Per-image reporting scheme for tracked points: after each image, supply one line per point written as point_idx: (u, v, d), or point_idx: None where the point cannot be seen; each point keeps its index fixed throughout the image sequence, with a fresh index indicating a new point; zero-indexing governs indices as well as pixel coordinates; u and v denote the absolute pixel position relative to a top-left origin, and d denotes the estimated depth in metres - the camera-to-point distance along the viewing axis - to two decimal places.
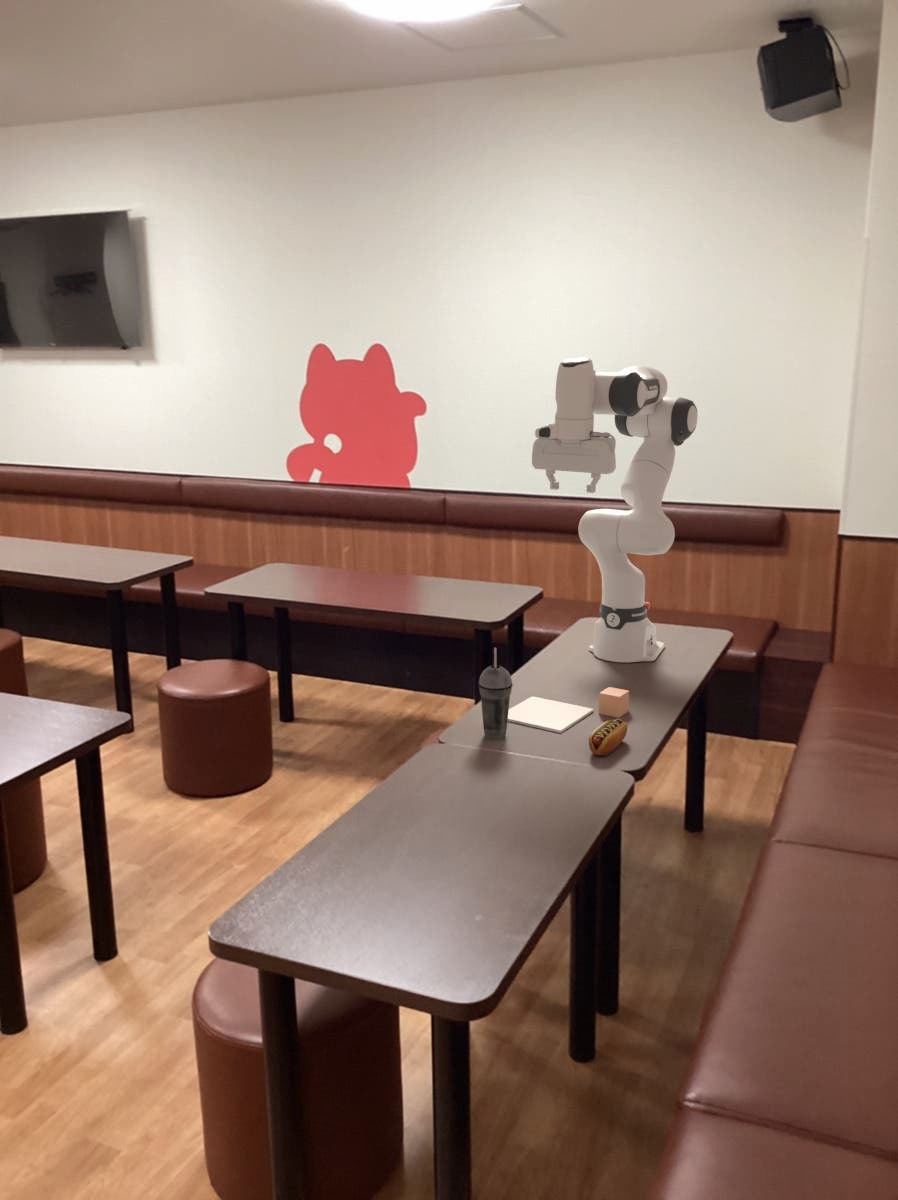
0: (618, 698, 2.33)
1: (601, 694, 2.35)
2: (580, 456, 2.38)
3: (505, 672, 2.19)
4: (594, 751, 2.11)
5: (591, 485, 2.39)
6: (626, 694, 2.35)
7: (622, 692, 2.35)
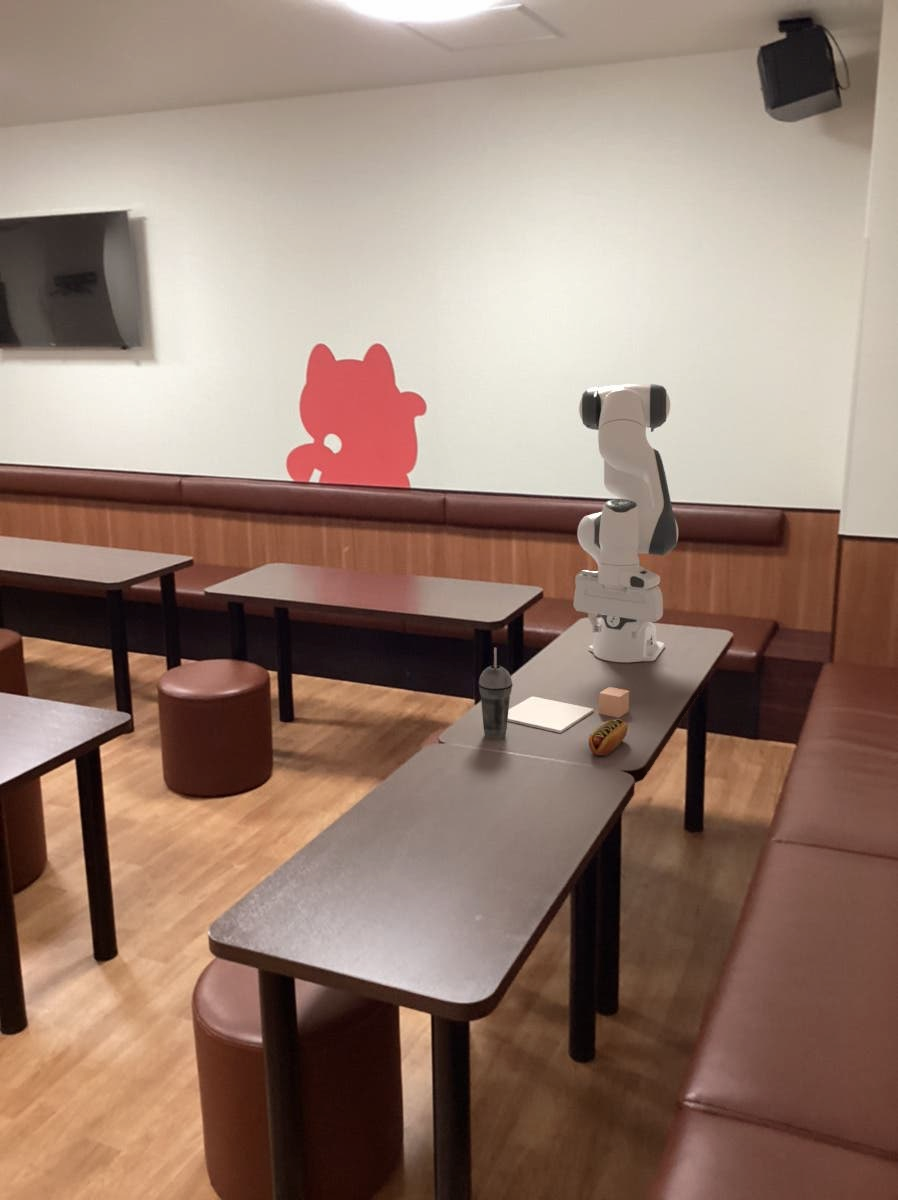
0: (618, 698, 2.33)
1: (601, 694, 2.35)
2: None
3: (505, 672, 2.19)
4: (594, 751, 2.11)
5: None
6: (626, 694, 2.35)
7: (622, 692, 2.35)
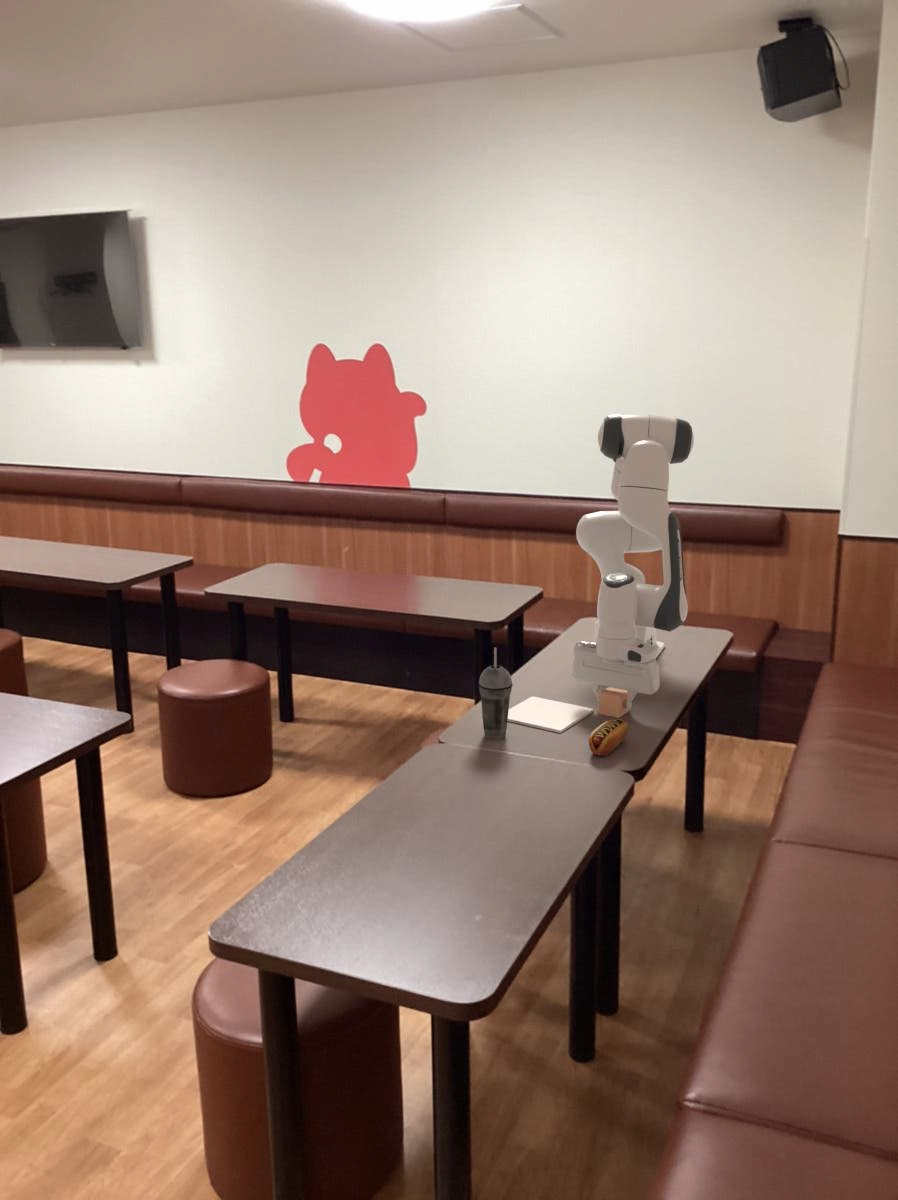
0: (618, 698, 2.33)
1: (601, 694, 2.35)
2: None
3: (505, 672, 2.19)
4: (594, 751, 2.11)
5: None
6: (626, 694, 2.35)
7: (622, 692, 2.35)
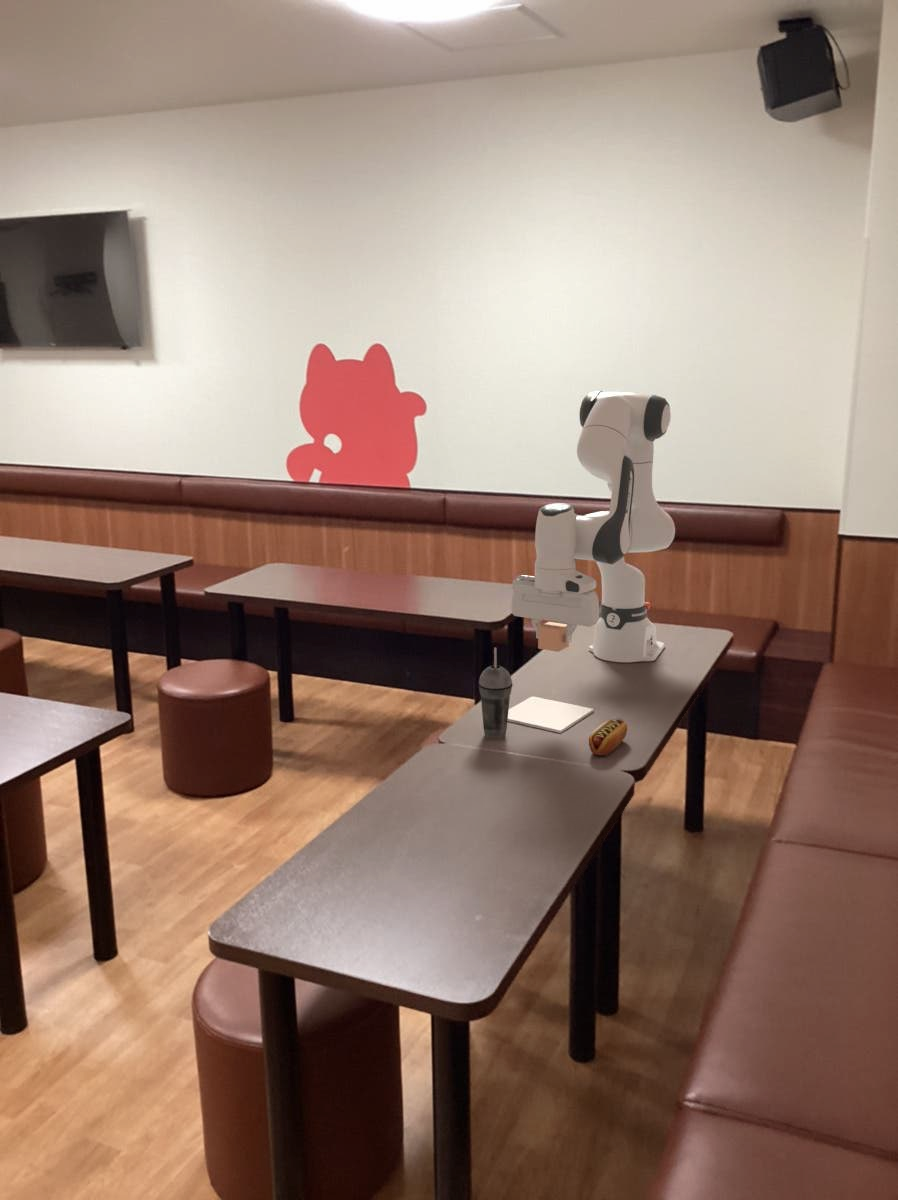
0: (557, 631, 2.27)
1: (540, 628, 2.29)
2: None
3: (505, 672, 2.19)
4: (594, 751, 2.11)
5: None
6: (566, 628, 2.30)
7: (562, 626, 2.29)
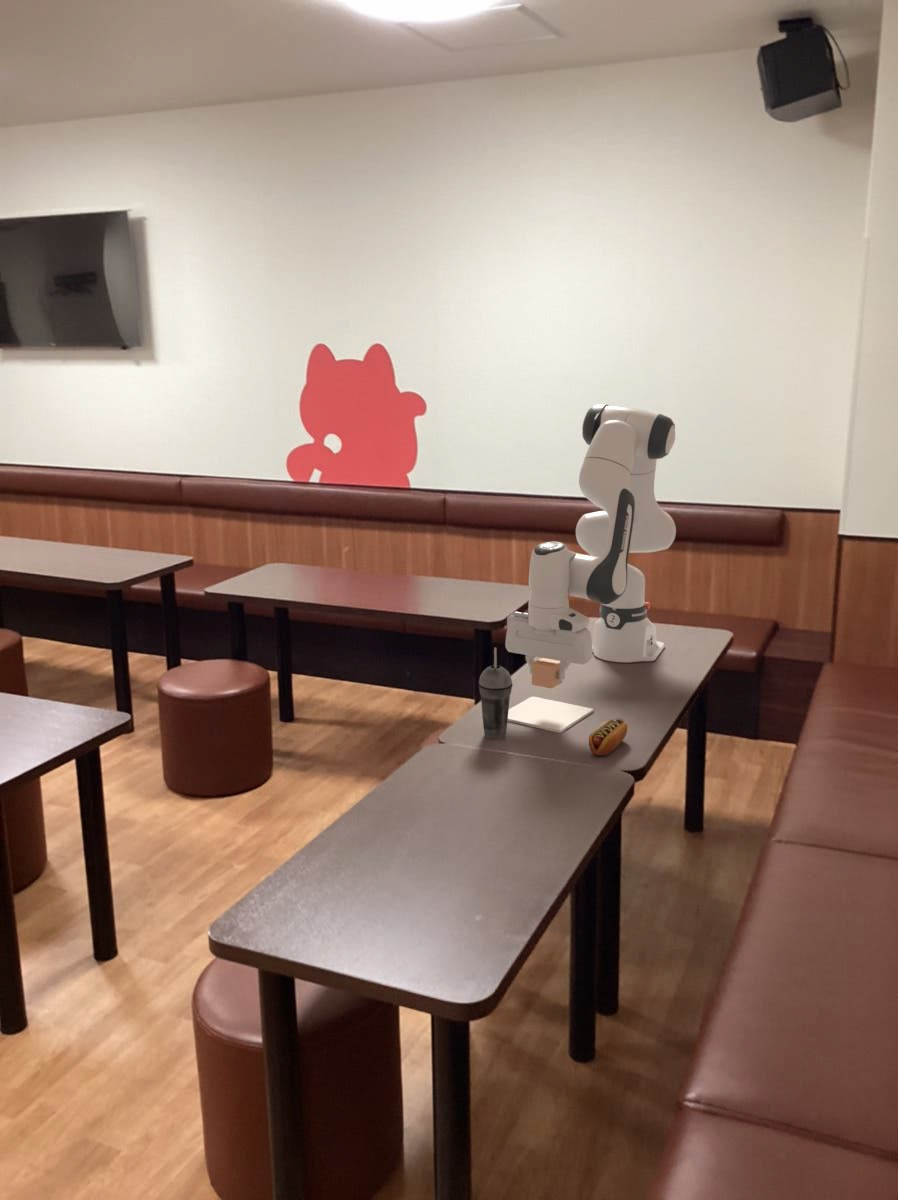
0: (550, 668, 2.29)
1: (534, 664, 2.31)
2: None
3: (505, 672, 2.19)
4: (594, 751, 2.11)
5: None
6: (559, 664, 2.32)
7: (555, 662, 2.31)
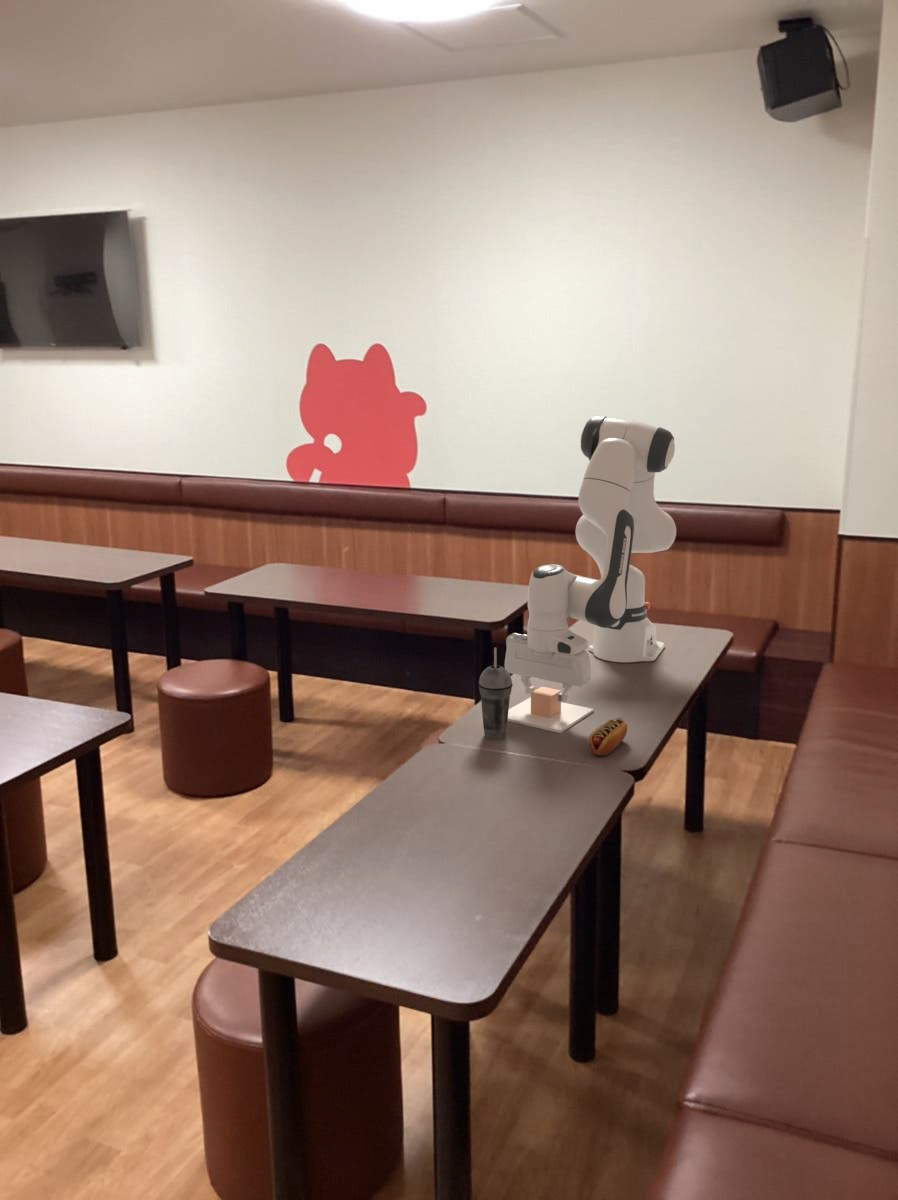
0: (549, 698, 2.31)
1: (533, 694, 2.33)
2: None
3: (505, 672, 2.19)
4: (594, 751, 2.11)
5: None
6: None
7: (554, 692, 2.33)
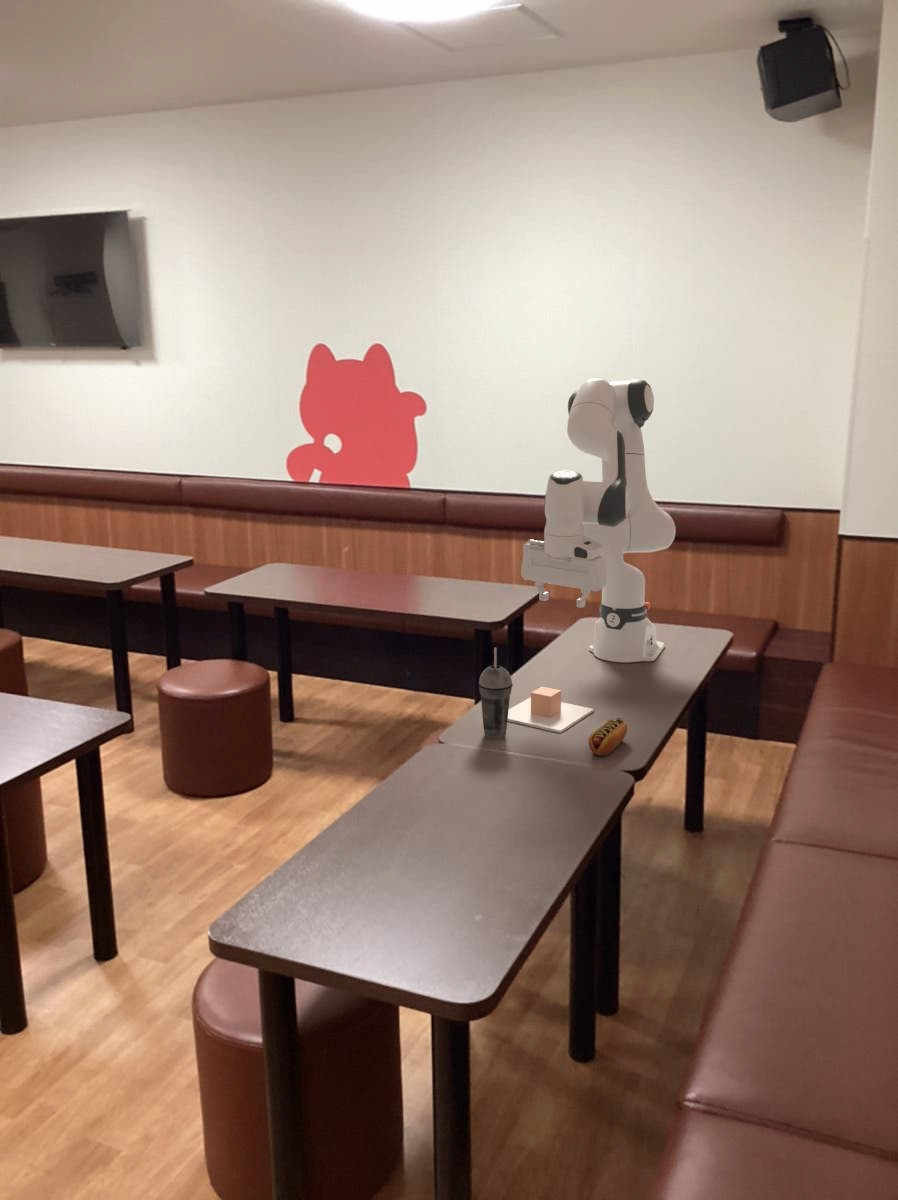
0: (549, 698, 2.31)
1: (533, 694, 2.33)
2: None
3: (505, 672, 2.19)
4: (594, 751, 2.11)
5: None
6: (558, 694, 2.34)
7: (554, 692, 2.33)
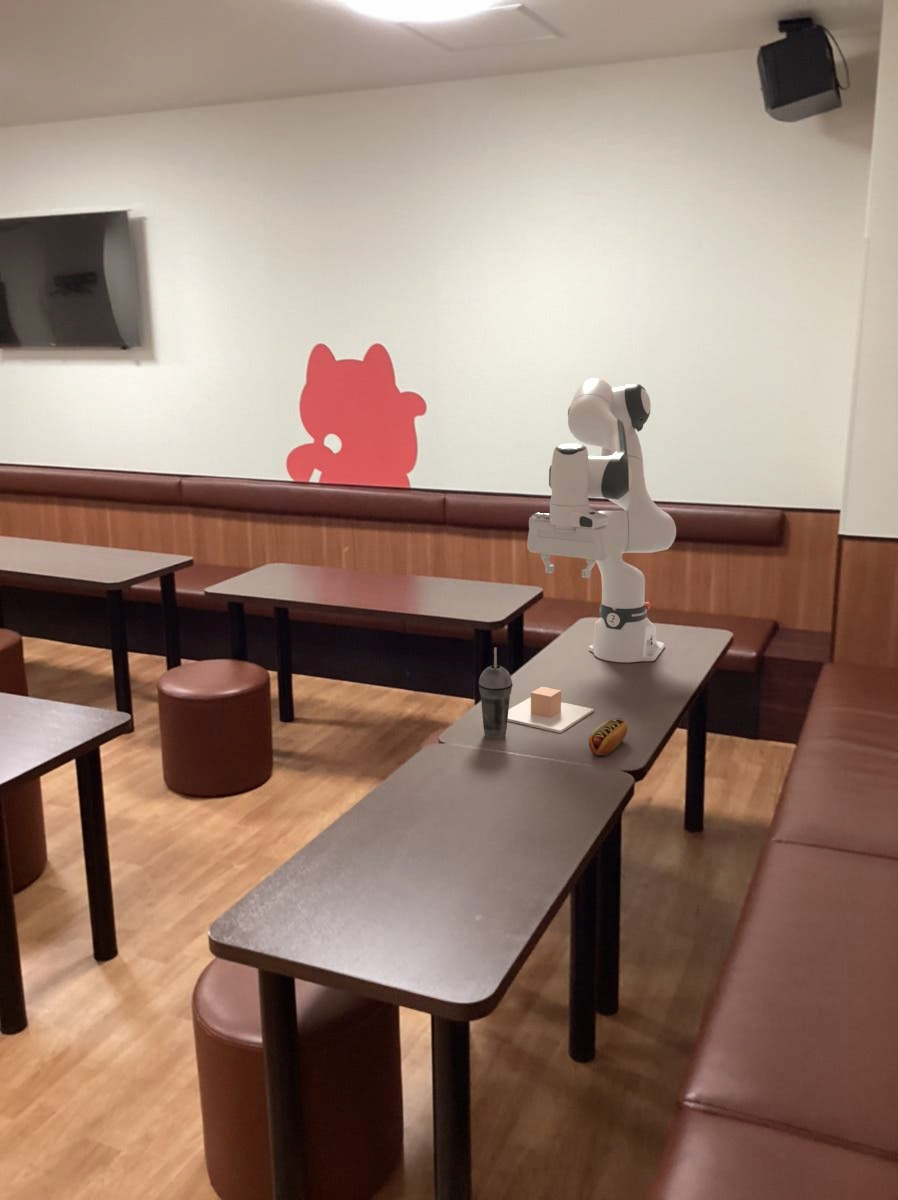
0: (549, 698, 2.31)
1: (533, 694, 2.33)
2: None
3: (505, 672, 2.19)
4: (594, 751, 2.11)
5: None
6: (558, 694, 2.34)
7: (554, 692, 2.33)
